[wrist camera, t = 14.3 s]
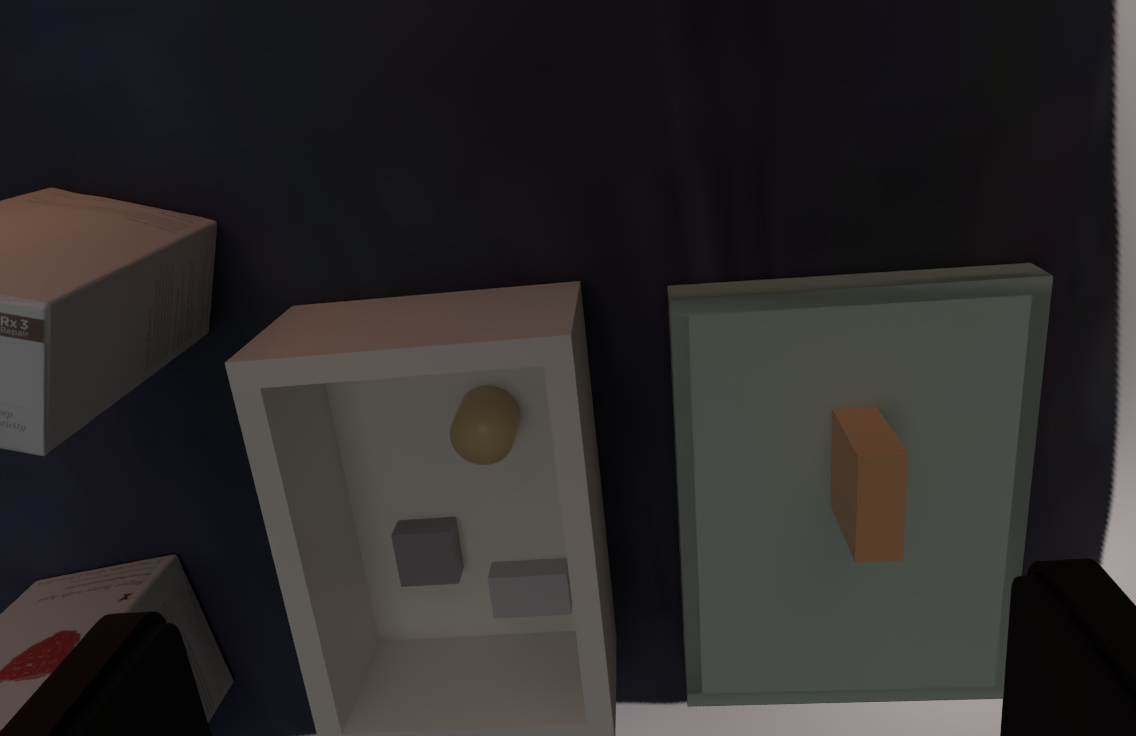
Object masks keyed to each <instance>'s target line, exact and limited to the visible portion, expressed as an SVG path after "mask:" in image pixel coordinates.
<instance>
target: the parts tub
mask: <svg viewBox="0 0 1136 736" xmlns="http://www.w3.org/2000/svg"><path fill="white" fill-rule="evenodd" d="M225 366H226V370H227V374H228V378H229V382H230V386H231V390H232V394H233V398H234V402H235V406H236V410H237V414H238V418H239V422H240V426H241V430H242V434H243V438H244V442H245V446H246V450H247V455H248V459H249V463H250V467H251V471H252V475H253V479H254V483H255V487H256V491H257V495H258V499H259V503H260V507H261V511H262V515H263V519H264V523H265V527H266V531H267V535H268V539H269V543H270V547H271V551H272V555H273V559H274V563H275V567H276V571H277V575H278V579H279V583H280V587H281V591H282V595H283V599H284V604H285V608H286V612H287V616H288V620H289V624H290V628H291V632H292V636H293V640H294V644H295V648H296V652H297V656H298V660H299V664H300V668H301V672H302V676H303V680H304V684H305V688H306V692H307V696H308V700H309V704H310V708H311V712H312V716H313V720H314V724H315V728H316V732H317V736H615V715H616V644H617V635H616V625H615V615H614V606H613V596H612V586H611V576H610V567H609V557H608V547H607V537H606V527H605V518H604V508H603V498H602V488H601V479H600V469H599V459H598V449H597V440H596V430H595V420H594V410H593V401H592V391H591V381H590V371H589V362H588V352H587V342H586V332H585V322H584V313H583V303H582V293H581V283H580V281H576V282H564V283H553V284H541V285H529V286H518V287H506V288H494V289H483V290H471V291H460V292H448V293H436V294H425V295H413V296H402V297H390V298H378V299H367V300H355V301H343V302H332V303H320V304H309V305H297V306H292V307H291V308H289V309H288V310H287V311H286V312H285V313H283V314H282V315H281V316H280V317H279V318H277V319H276V320H275V321H274V322H273V323H272V324H270V325H269V326H268V327H267V328H266V329H264V330H263V331H262V332H261V333H260V334H258V335H257V336H256V337H255V338H254V339H252V340H251V341H250V342H249V343H248V344H247V345H245V346H244V347H243V348H242V349H241V350H239V351H238V352H237V353H236V354H235V355H233V356H232V357H231V358H230V359H229V360H228V361H226V362H225Z"/></svg>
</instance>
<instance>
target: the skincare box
mask: <svg viewBox="0 0 1136 736" xmlns="http://www.w3.org/2000/svg"><path fill="white" fill-rule="evenodd" d="M216 235H217V222H216V221H214V220H210V219H206V218H202V217H198V216H193V215H188V214H183V213H178V212H173V211H168V210H163V209H159V208H154V207H149V206H144V205H139V204H134V203H129V202H124V201H119V200H114V199H109V198H104V197H98V196H91V195H84V194H78V193H73V192H69V191H65V190H61V189H56V188H48V189H44V190H40V191H36V192H33V193H29V194H25V195H21V196H17V197H14V198H10V199H6V200H2V201H0V448H3V449H8V450H14V451H19V452H24V453H30V454H35V455H41V456H44V455H46V454H47V453H48V452H50V451H51V450H52V449H54V448H55V447H56V446H58V445H59V444H60V443H62V442H63V441H65V440H66V439H67V438H68V437H70V436H71V435H73V434H74V433H75V432H77V431H78V430H79V429H81V428H82V427H83V426H84V425H86V424H87V423H88V422H90V421H91V420H92V419H94V418H95V417H96V416H98V415H99V414H100V413H101V412H103V411H104V410H106V409H107V408H108V407H110V406H111V405H113V404H114V403H115V402H117V401H118V400H119V399H121V398H122V397H123V396H125V395H126V394H127V393H129V392H130V391H131V390H133V389H134V388H135V387H137V386H138V385H139V384H141V383H142V382H143V381H145V380H146V379H147V378H149V377H150V376H152V375H153V374H154V373H156V372H157V371H158V370H159V369H161V368H162V367H164V366H165V365H167V364H168V363H169V362H170V361H172V360H173V359H174V358H176V357H177V356H178V355H180V354H181V353H182V352H184V351H185V350H186V349H188V348H189V347H190V346H192V345H193V344H194V343H196V342H197V341H198V340H200V339H201V338H202V337H204V336H205V335H206V334H208V332H209V325H210V313H211V299H212V287H213V274H214V261H215V248H216Z"/></svg>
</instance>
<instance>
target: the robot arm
mask: <svg viewBox="0 0 1136 736" xmlns="http://www.w3.org/2000/svg"><path fill="white" fill-rule="evenodd" d="M0 736H212V735H211V731H210V728H209V725H208V721H207V718H206V715H205V711H204V708H203V705H202V701H201V698H200V695H199V691H198V688H197V685H196V681H195V678H194V675H193V671H192V668H191V665H190V661H189V658H188V655H187V651H186V648H185V645H184V642H183V638H182V635H181V632H180V630H179V628H178V627H177V626H176V625H175V624H172V623H167V621H166V619H165V618H164V617H163V616H162V614H161V613H158V612H155V611H150V612H133V613H115V614H108V615H104V616H103V617H102V618H101V619H99V620H98V621H97V622H96V623H95V625H94V626H93V627H92V628H91V629H90V630H89V631H88V632H87V634H86V635H85V636H84V637H83V638H82V639H81V640H80V642H79V643H78V644H77V645H76V646H75V647H74V648H73V649H72V651H71V652H70V653H69V654H68V655H67V656H66V657H65V658H64V660H63V661H62V662H61V663H60V664H59V665H58V666H57V668H56V669H55V670H54V671H53V672H52V673H51V674H50V675H49V677H48V678H47V679H46V680H45V681H44V682H43V683H42V684H41V686H40V687H39V688H38V689H37V690H36V691H35V692H34V694H33V695H32V696H31V697H30V698H29V699H28V700H27V701H26V703H25V704H24V705H23V706H22V707H21V708H20V709H19V711H18V712H17V713H16V714H15V715H14V716H13V717H12V718H11V720H10V721H9V722H8V723H7V724H6V725H5V726H4V727H3V729H2V730H1V731H0ZM1000 736H1136V606H1135V605H1134V603H1133V602H1132V601H1131V600H1130V599H1129V598H1128V597H1127V595H1126V594H1125V593H1124V592H1123V591H1122V590H1121V589H1120V587H1118V585H1117V584H1116V583H1115V582H1114V581H1113V580H1112V578H1111V577H1110V576H1109V575H1108V574H1107V573H1106V572H1105V570H1104V569H1103V568H1102V567H1101V566H1100V565H1099V564H1098V563H1097V562H1096V561H1094V560H1092V559H1070V560H1052V561H1035V562H1034V563H1032V564H1031V566H1030V568H1029V570H1028V574H1027V576H1017V577H1016V578H1014V580H1013V582H1012V587H1011V598H1010V611H1009V625H1008V639H1007V652H1006V666H1005V680H1004V693H1003V707H1002V721H1001V734H1000Z"/></svg>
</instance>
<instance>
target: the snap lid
mask: <svg viewBox="0 0 1136 736" xmlns="http://www.w3.org/2000/svg"><path fill="white" fill-rule="evenodd" d="M1052 281H1053V276H1052V275H1051V274H1049V273H1047V272H1046V271H1044V270H1042V269H1040V268H1039V267H1037V266H1035V265H1034V264H1032V263H1021V264H1005V265H989V266H973V267H958V268H942V269H926V270H910V271H894V272H878V273H862V274H846V275H831V276H815V277H799V278H783V279H767V280H751V281H735V282H719V283H704V284H688V285H672V286H667V288H668V310H669V332H670V354H671V376H672V399H673V421H674V443H675V465H676V487H677V510H678V532H679V554H680V576H681V598H682V620H683V643H684V665H685V682H686V693H687V704H688V706H726V705H767V704H806V703H807V704H808V703H846V702H847V703H848V702H888V701H928V700H966V699H967V700H968V699H1003V693H1004V680H1005V666H1006V652H1007V639H1008V625H1009V611H1010V598H1011V587H1012V582H1013V580H1014V578H1016V577H1017V576H1022V566H1023V557H1024V547H1025V538H1026V528H1027V519H1028V509H1029V500H1030V490H1031V481H1032V471H1033V462H1034V452H1035V443H1036V433H1037V424H1038V414H1039V405H1040V395H1041V385H1042V376H1043V366H1044V357H1045V347H1046V338H1047V328H1048V319H1049V309H1050V300H1051V290H1052Z"/></svg>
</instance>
